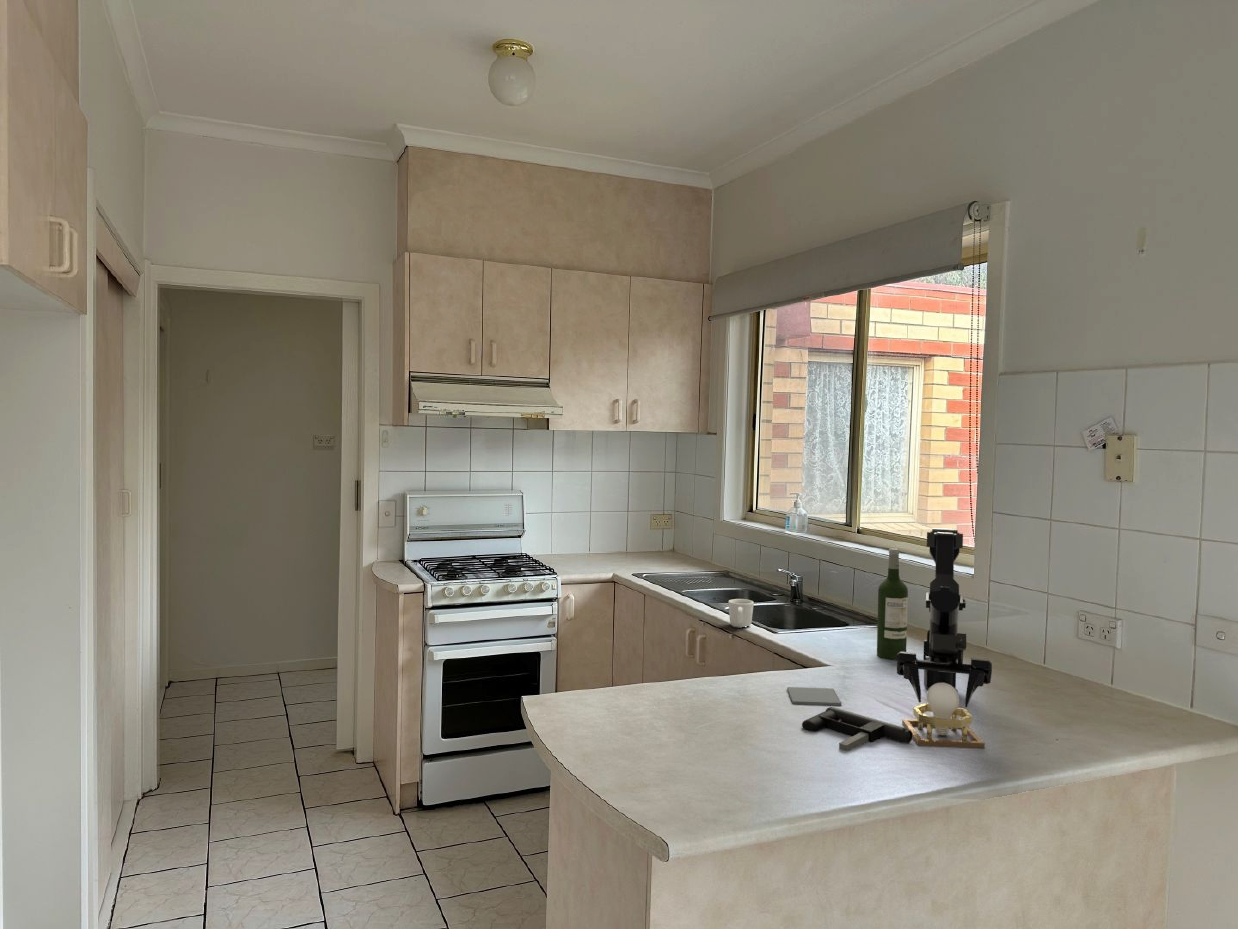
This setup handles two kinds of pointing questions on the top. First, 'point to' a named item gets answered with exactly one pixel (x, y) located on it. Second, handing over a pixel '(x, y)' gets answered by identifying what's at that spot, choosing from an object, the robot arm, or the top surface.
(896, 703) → the top surface
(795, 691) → the mat
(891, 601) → the wine bottle
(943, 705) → the lightbulb
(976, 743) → the ring stand
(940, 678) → the robot arm
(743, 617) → the cup
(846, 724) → the door handle
